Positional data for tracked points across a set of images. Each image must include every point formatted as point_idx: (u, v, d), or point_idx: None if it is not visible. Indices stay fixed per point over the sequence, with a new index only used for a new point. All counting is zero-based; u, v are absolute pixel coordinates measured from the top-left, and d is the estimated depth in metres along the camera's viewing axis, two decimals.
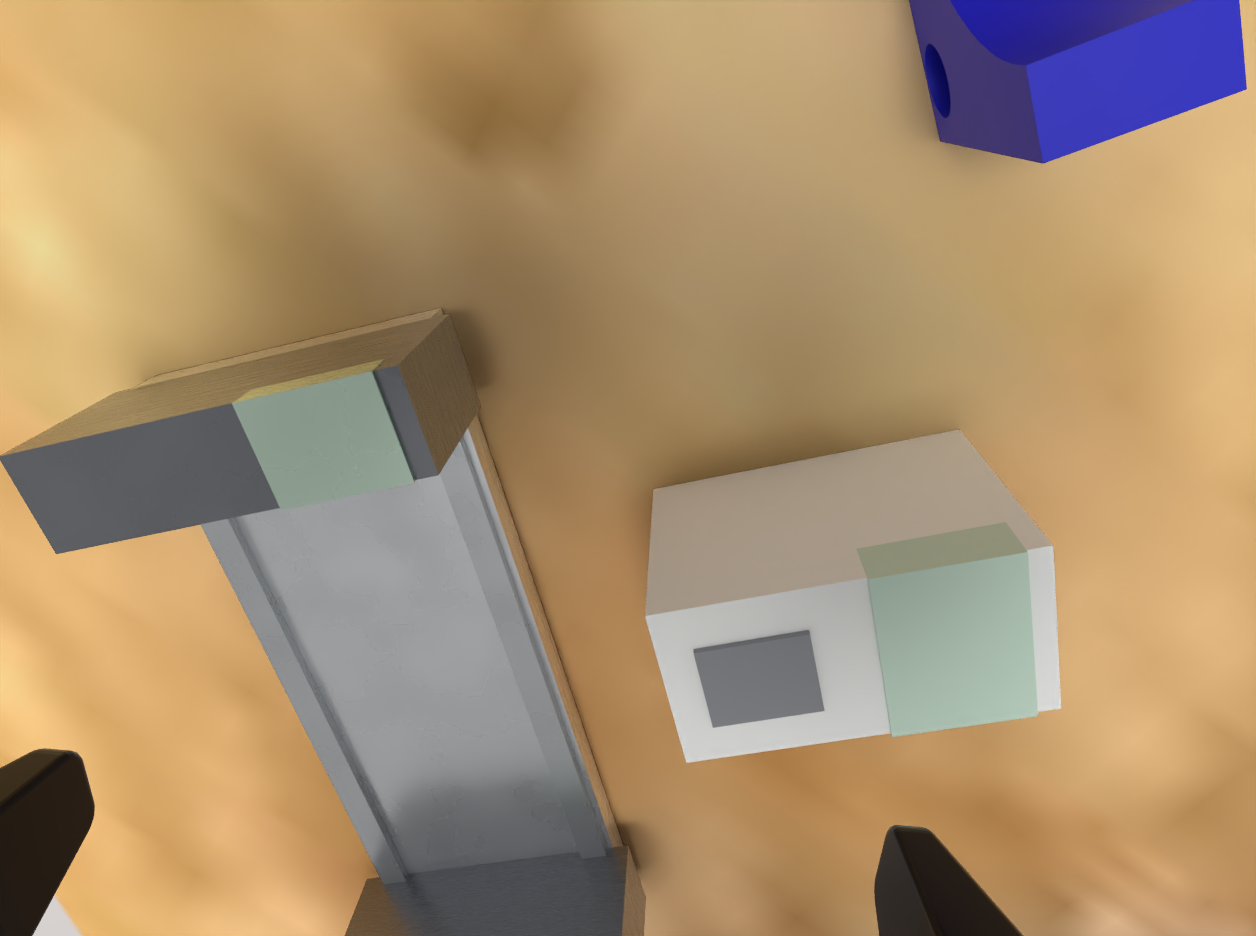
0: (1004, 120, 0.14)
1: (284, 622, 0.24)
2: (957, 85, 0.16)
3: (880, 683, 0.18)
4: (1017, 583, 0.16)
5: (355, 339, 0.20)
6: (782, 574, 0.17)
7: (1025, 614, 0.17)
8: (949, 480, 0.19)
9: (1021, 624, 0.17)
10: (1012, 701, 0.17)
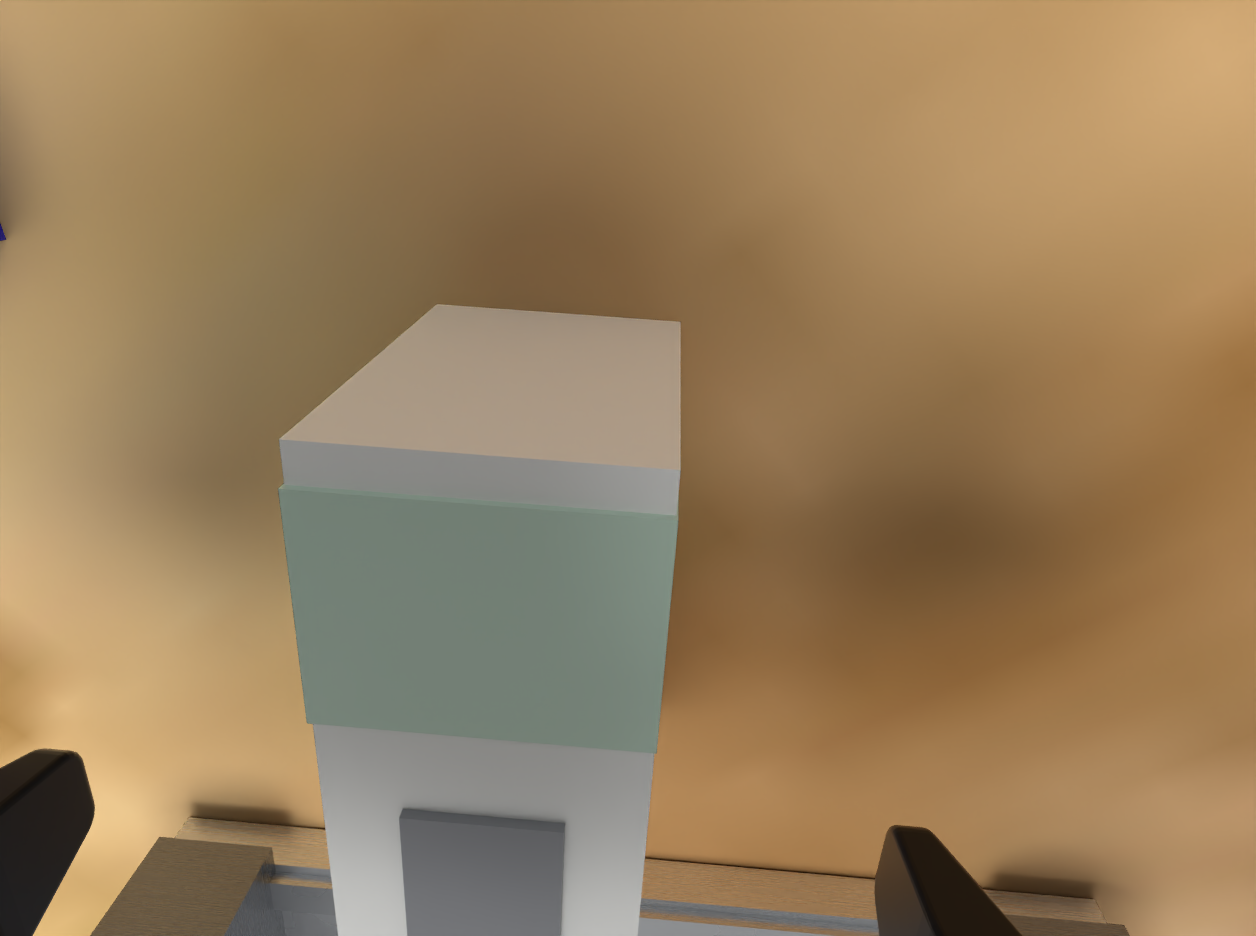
0: None
1: None
2: None
3: (533, 743, 0.10)
4: (347, 512, 0.09)
5: None
6: None
7: (428, 504, 0.09)
8: None
9: (442, 518, 0.09)
10: (626, 558, 0.09)
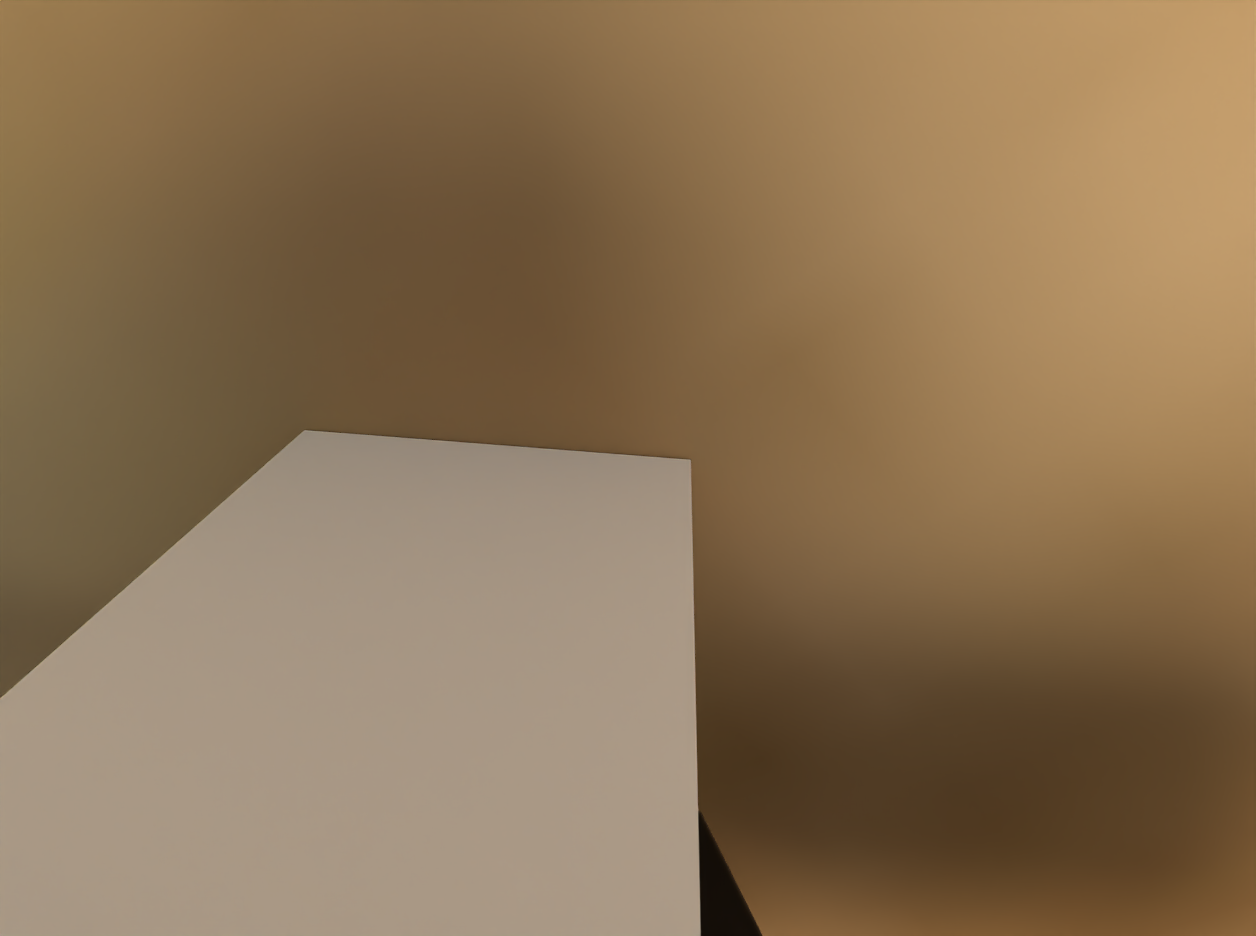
0: None
1: None
2: None
3: None
4: None
5: None
6: None
7: None
8: None
9: None
10: None
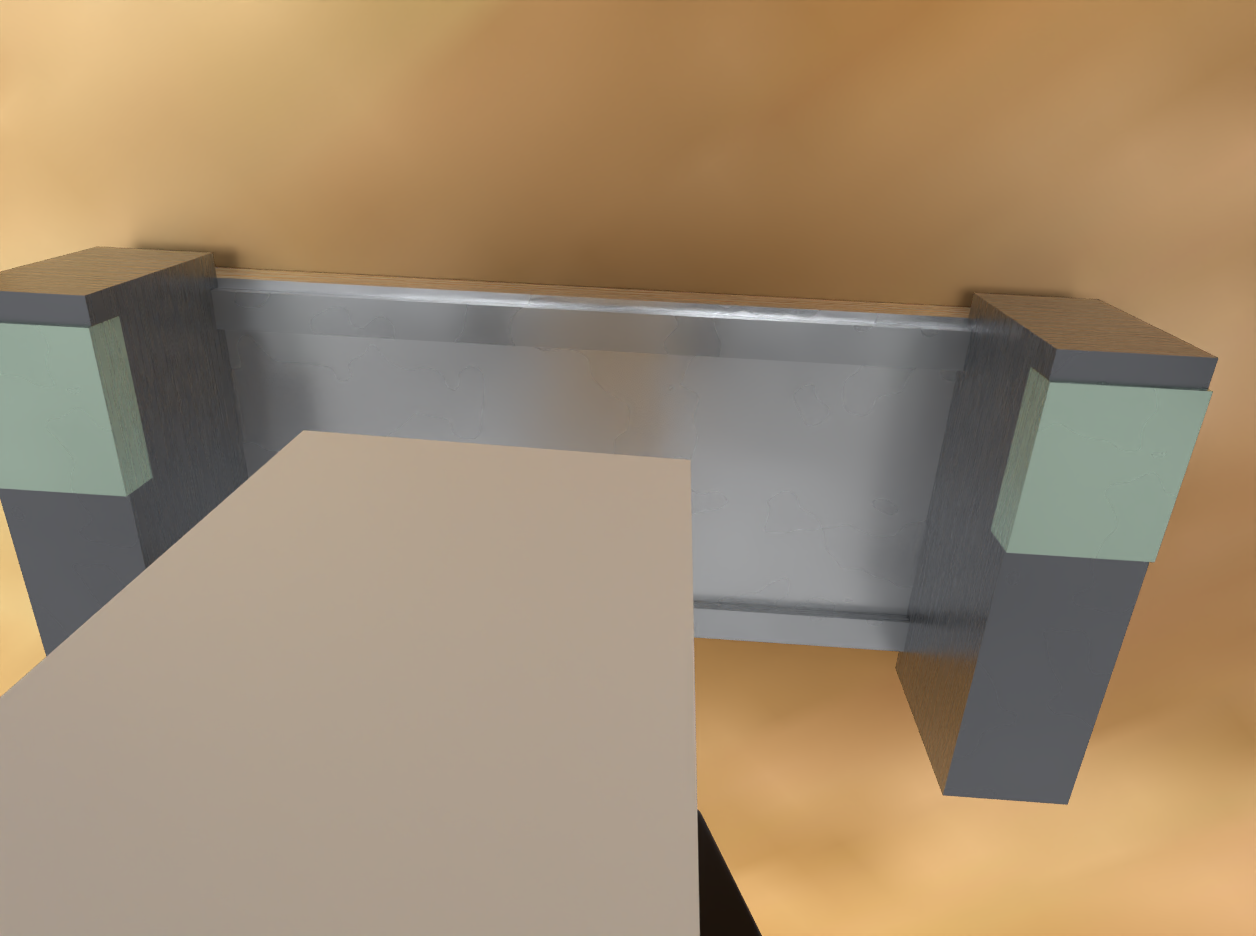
0: None
1: None
2: None
3: None
4: None
5: None
6: None
7: None
8: None
9: None
10: None
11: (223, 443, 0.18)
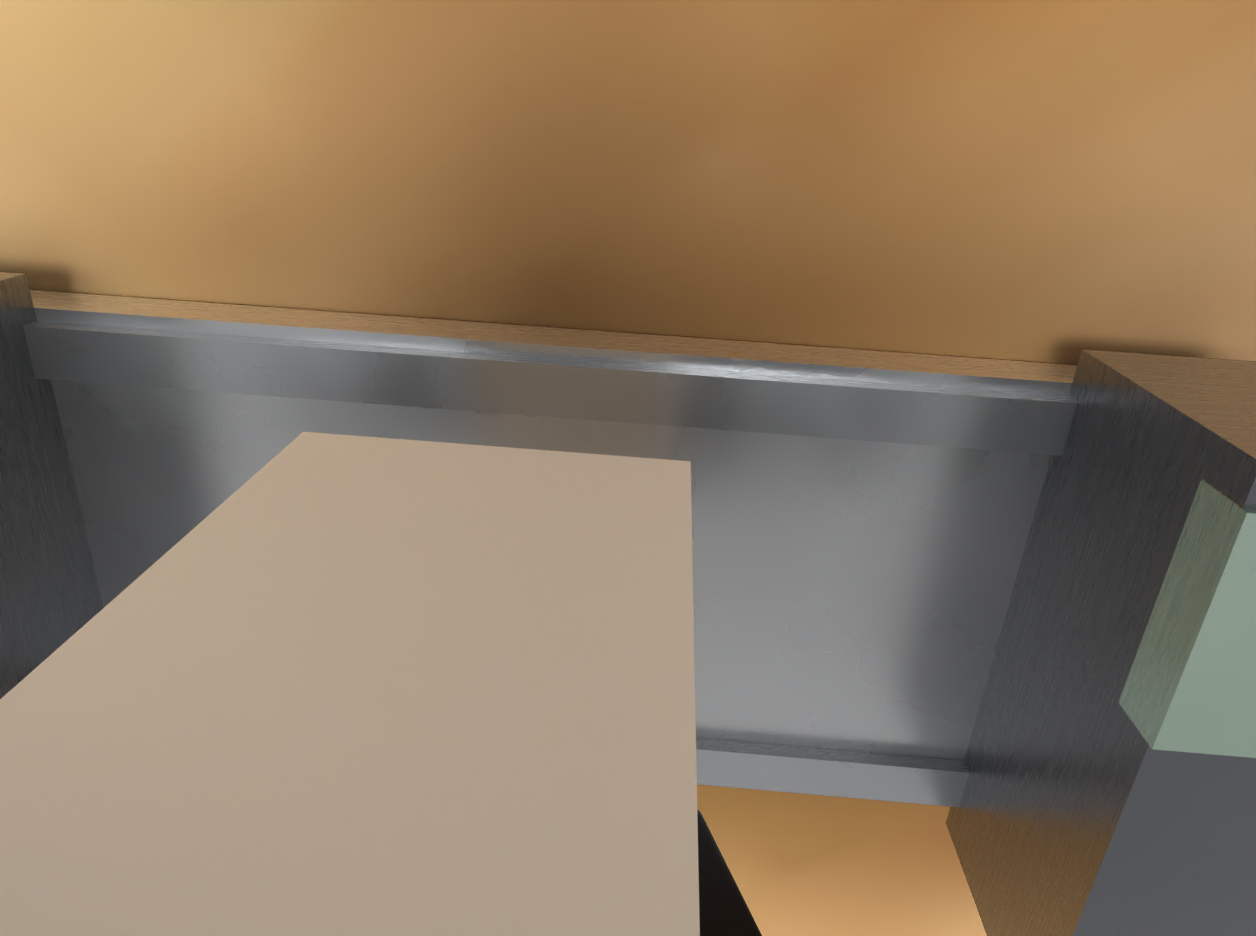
0: None
1: None
2: None
3: None
4: None
5: None
6: None
7: None
8: None
9: None
10: None
11: (49, 531, 0.13)
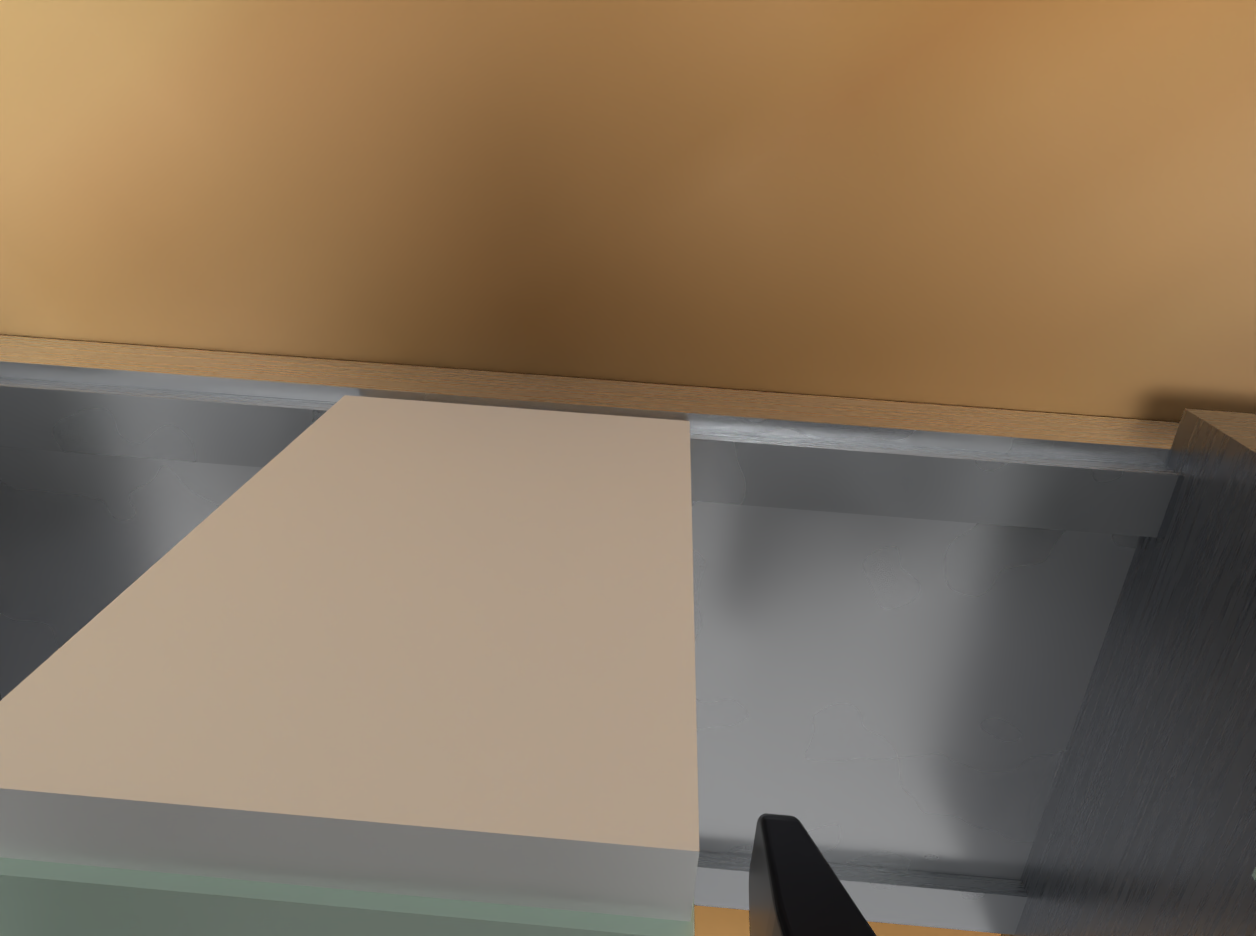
0: None
1: None
2: None
3: None
4: (59, 905, 0.04)
5: None
6: None
7: (213, 888, 0.04)
8: None
9: (238, 921, 0.04)
10: None
11: None
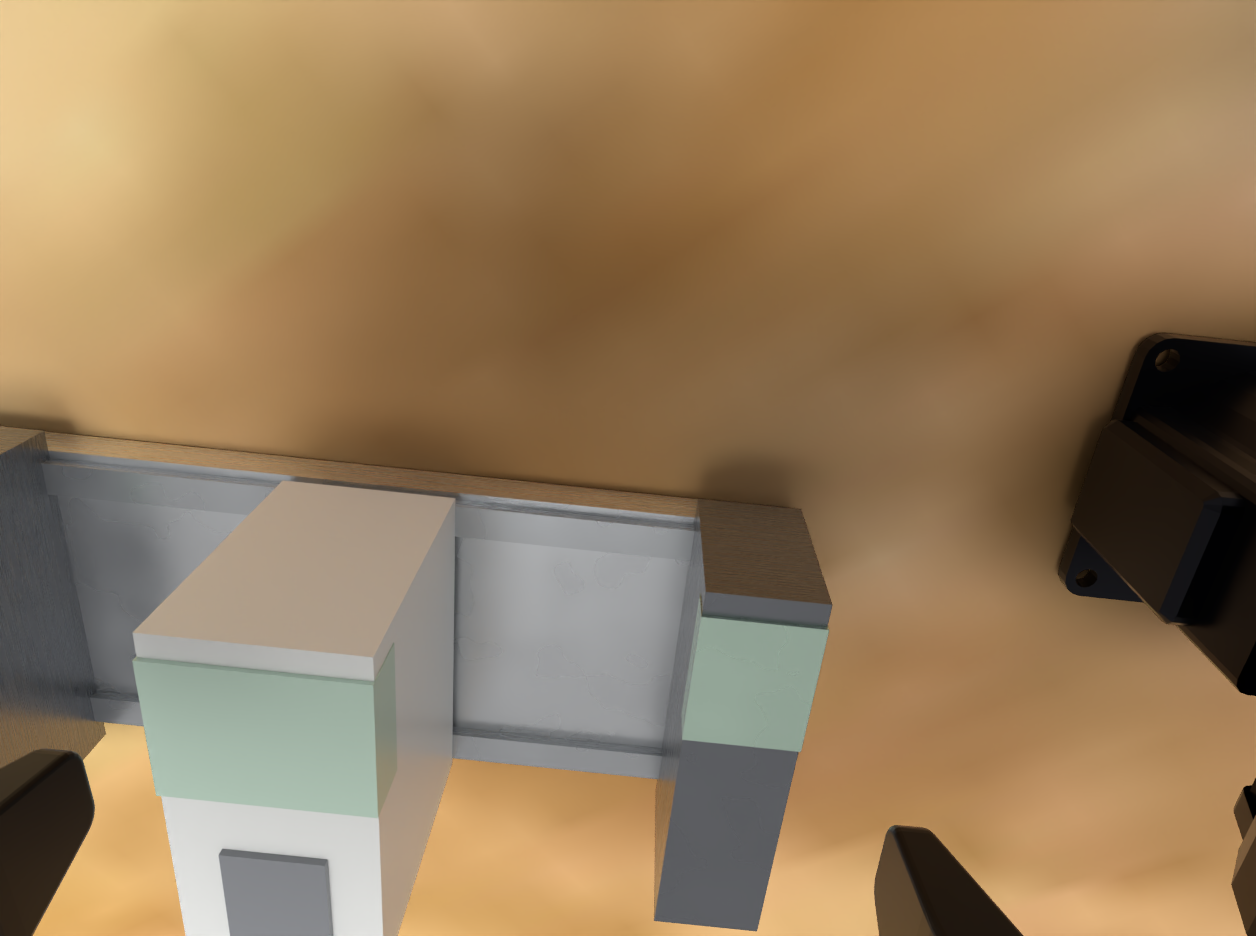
0: None
1: None
2: None
3: (301, 810, 0.15)
4: (175, 675, 0.14)
5: None
6: None
7: (225, 670, 0.14)
8: None
9: (232, 680, 0.14)
10: (345, 705, 0.14)
11: (53, 590, 0.20)
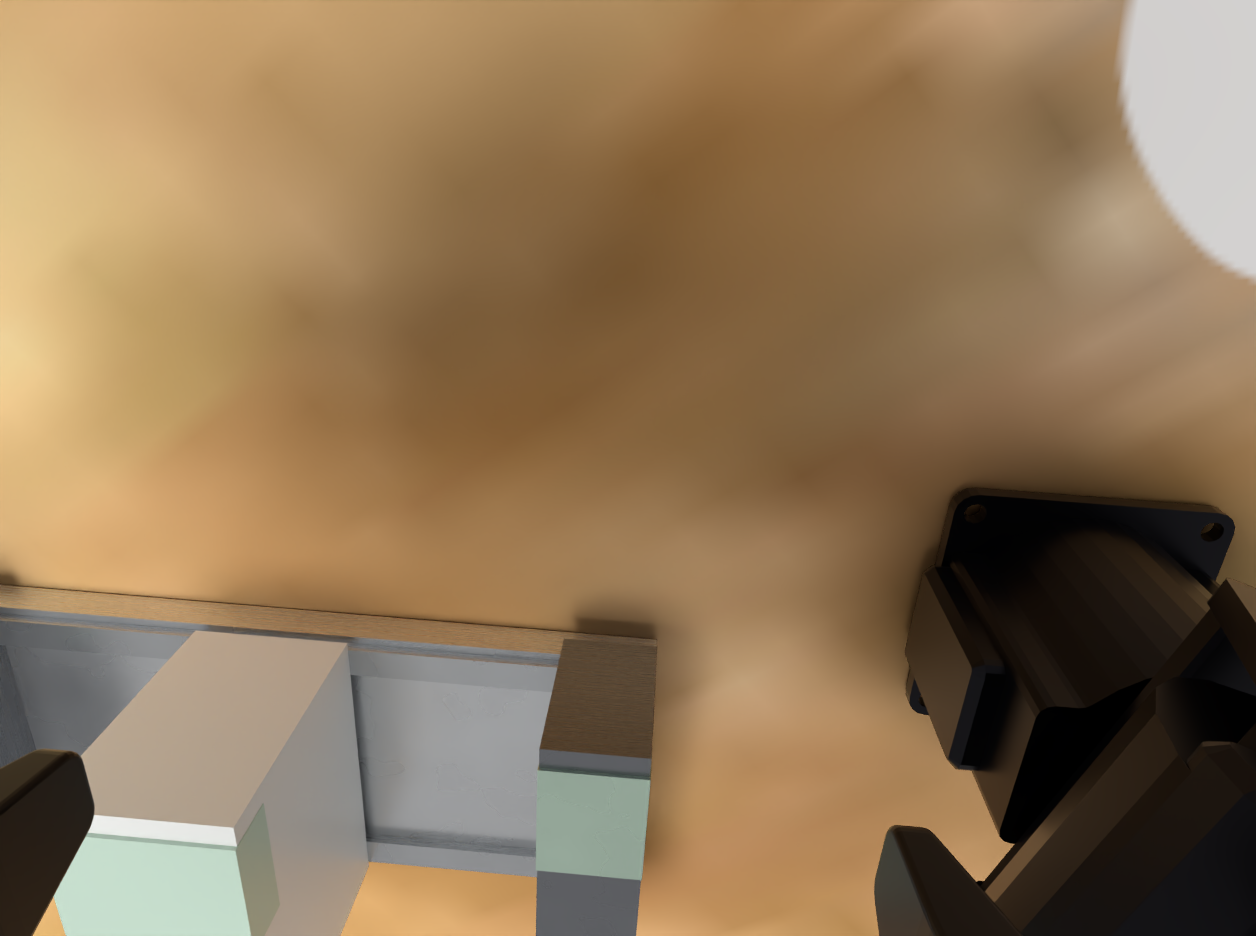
0: None
1: None
2: None
3: None
4: None
5: None
6: None
7: (111, 838, 0.17)
8: None
9: (118, 846, 0.17)
10: (214, 866, 0.17)
11: (4, 725, 0.23)
